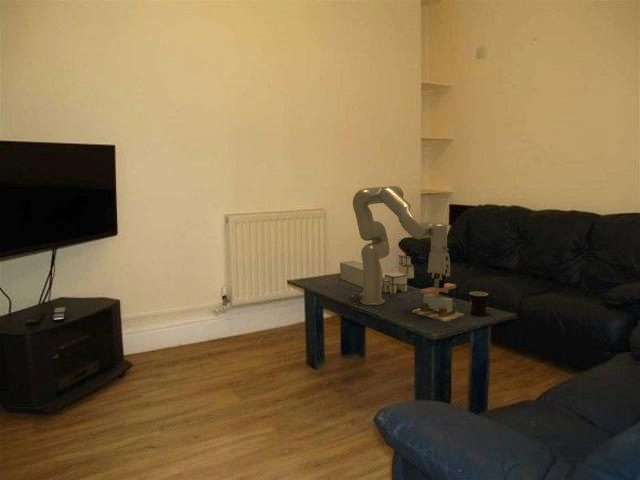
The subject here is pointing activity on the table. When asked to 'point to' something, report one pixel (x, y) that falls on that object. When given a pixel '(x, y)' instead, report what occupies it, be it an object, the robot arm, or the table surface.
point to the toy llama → (399, 276)
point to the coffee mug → (478, 303)
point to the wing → (436, 289)
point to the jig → (438, 313)
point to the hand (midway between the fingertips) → (438, 286)
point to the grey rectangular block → (353, 272)
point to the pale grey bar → (438, 302)
